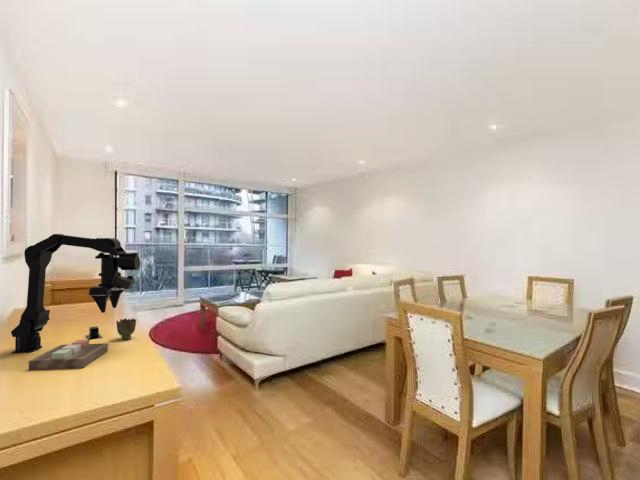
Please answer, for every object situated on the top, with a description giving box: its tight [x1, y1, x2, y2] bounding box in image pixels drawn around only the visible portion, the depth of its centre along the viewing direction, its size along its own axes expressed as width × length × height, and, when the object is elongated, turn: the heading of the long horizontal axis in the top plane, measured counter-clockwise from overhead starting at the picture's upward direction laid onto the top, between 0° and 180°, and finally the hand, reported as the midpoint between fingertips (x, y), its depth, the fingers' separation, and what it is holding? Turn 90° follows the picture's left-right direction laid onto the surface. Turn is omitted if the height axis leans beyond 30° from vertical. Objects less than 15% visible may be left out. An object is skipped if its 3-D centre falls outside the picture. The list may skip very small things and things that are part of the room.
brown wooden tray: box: [28, 342, 109, 371], centre depth 117 cm, size 16×17×3 cm
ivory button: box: [62, 344, 81, 353], centre depth 117 cm, size 4×4×3 cm
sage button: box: [51, 349, 72, 359], centre depth 112 cm, size 4×4×3 cm
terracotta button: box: [70, 339, 90, 348], centre depth 123 cm, size 4×4×3 cm
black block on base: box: [85, 325, 103, 341], centre depth 146 cm, size 12×7×5 cm, turn 42°
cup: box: [115, 318, 137, 341], centre depth 143 cm, size 8×7×8 cm
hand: (109, 310), depth 131 cm, fingers open, 9 cm apart
